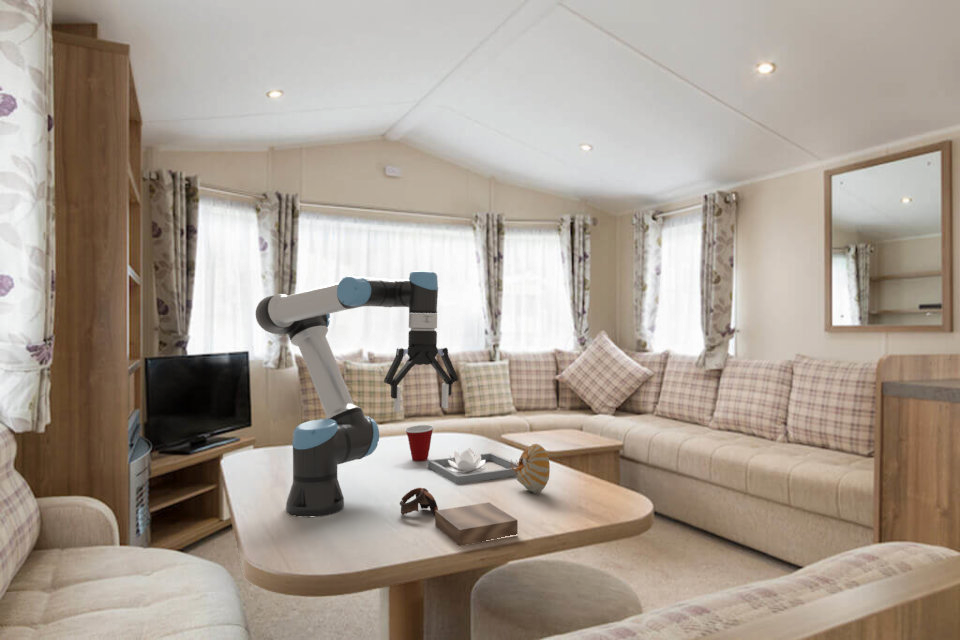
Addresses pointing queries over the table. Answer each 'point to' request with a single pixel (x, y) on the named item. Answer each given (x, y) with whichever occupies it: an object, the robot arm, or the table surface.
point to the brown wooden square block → (475, 523)
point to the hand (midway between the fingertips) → (421, 409)
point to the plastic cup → (419, 441)
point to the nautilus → (533, 468)
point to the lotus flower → (467, 463)
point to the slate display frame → (467, 478)
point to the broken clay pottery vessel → (418, 501)
